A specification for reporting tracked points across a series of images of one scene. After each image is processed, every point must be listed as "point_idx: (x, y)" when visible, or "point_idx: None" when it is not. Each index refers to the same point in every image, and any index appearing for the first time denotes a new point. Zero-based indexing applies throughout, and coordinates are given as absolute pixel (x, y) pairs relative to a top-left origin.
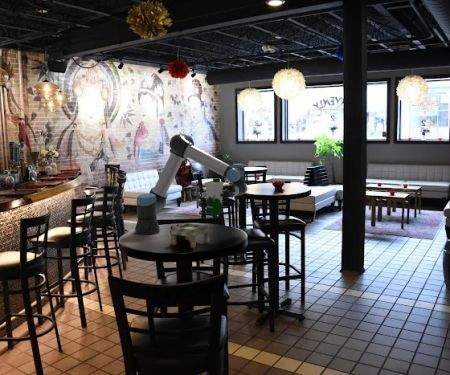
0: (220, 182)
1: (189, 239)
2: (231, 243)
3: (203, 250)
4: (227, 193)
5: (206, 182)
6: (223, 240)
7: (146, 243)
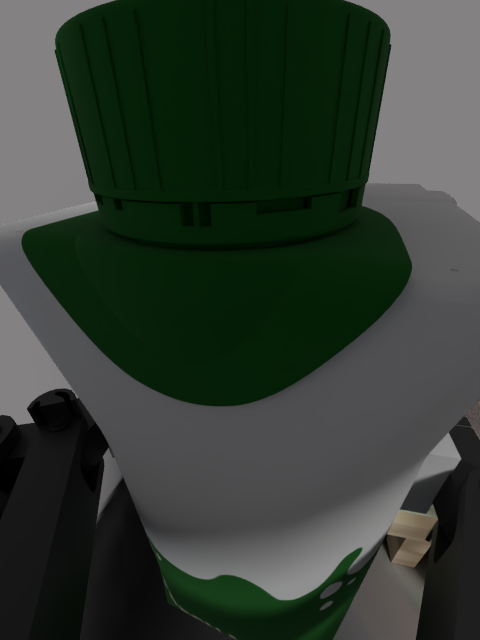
0: (92, 204)
1: (389, 548)
2: (127, 539)
3: None
4: (13, 425)
5: (412, 189)
6: (185, 614)
7: (477, 419)
